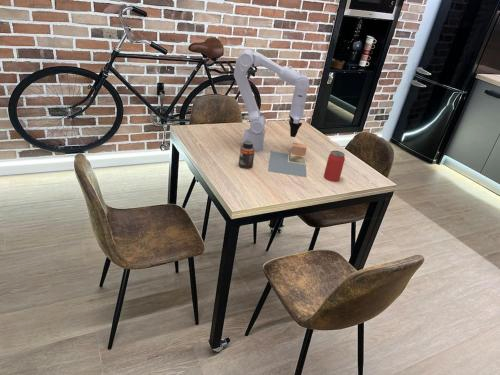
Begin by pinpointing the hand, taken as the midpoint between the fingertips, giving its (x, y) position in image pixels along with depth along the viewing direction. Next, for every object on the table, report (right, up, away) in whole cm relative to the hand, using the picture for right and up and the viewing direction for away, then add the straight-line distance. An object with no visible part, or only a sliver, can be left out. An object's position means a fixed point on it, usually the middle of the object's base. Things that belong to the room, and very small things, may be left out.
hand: (292, 133), depth 169 cm
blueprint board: (-3, -14, -5) cm, 16 cm away
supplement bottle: (-21, -16, -12) cm, 29 cm away
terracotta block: (+2, -9, -2) cm, 10 cm away
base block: (+2, -12, -1) cm, 12 cm away
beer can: (+15, -21, -12) cm, 28 cm away
